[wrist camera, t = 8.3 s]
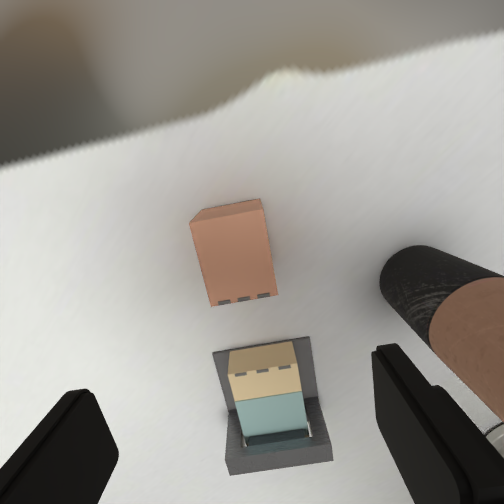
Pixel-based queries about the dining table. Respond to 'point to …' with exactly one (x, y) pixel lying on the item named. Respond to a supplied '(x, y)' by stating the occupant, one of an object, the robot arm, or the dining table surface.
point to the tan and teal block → (267, 389)
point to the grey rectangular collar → (278, 445)
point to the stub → (234, 252)
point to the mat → (303, 361)
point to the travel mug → (453, 314)
